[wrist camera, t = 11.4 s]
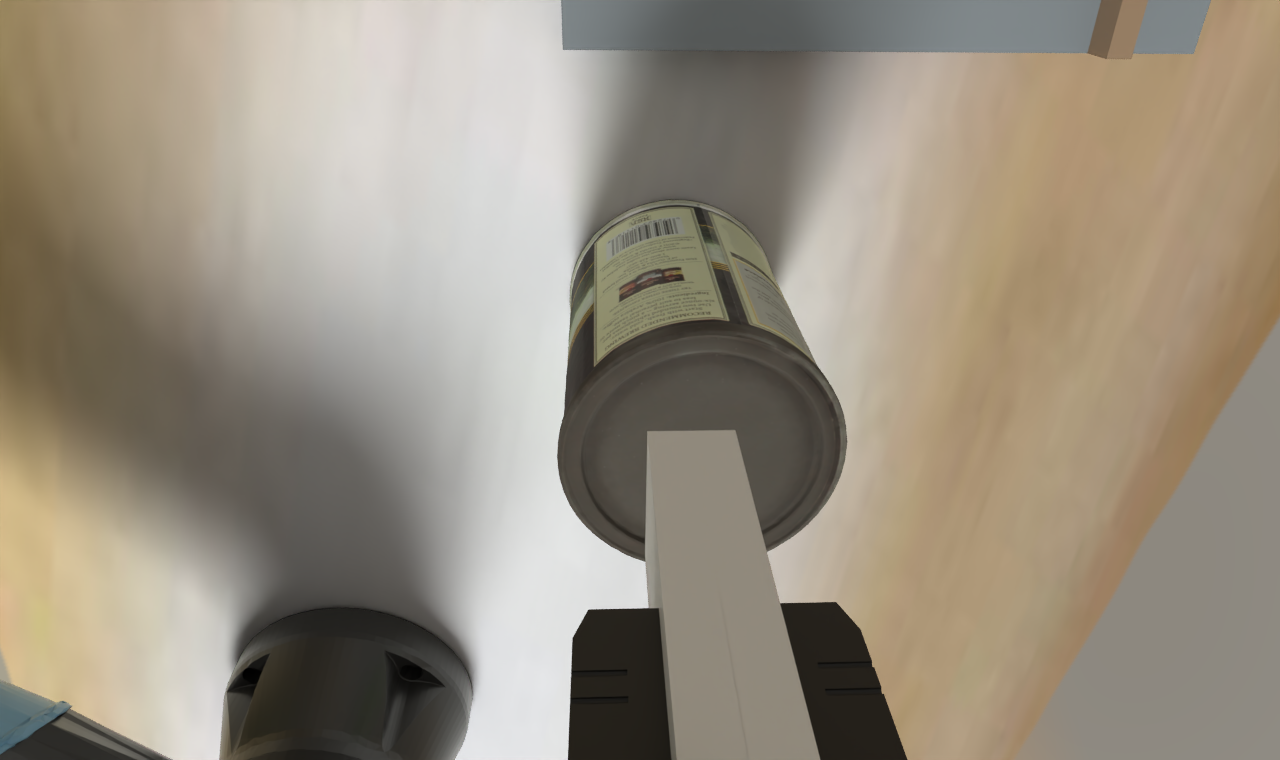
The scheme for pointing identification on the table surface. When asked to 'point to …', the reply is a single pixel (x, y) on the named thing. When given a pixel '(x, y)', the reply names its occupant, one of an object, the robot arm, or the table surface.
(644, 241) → the coffee can
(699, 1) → the deck
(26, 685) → the table surface
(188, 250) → the table surface
